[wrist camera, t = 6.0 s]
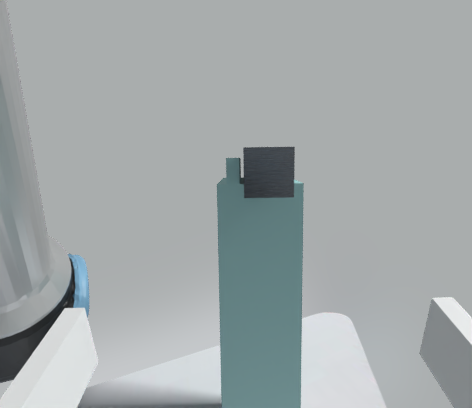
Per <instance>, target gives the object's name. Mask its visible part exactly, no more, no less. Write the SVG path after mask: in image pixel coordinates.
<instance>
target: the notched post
mask: <svg viewBox="0 0 472 408" xmlns="http://www.w3.org/2000/svg"><path fill="white" fill-rule="evenodd" d="M226 169H227V170H226V172H227V178H223V179H222V180H221V181H220V182H219V183H218V184H217V207H218V254H219V301H220V348H221V395H222V408H300V406H301V332H302V258H303V255H302V254H303V253H302V251H303V183H301V182H299V181H297V180H294V197H292V198H244V178H241V175H240V174H241V171H240V158H226Z"/></svg>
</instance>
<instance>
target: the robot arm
mask: <svg viewBox="0 0 472 408" xmlns="http://www.w3.org/2000/svg"><path fill="white" fill-rule="evenodd" d="M88 313H89V283H88V274H87V267H86V263H85V260H84V259H83V258H82V257H81V256H79V255H71V254H67V252H66V250H65V249H64V248H63V246H62V245H61V244H60V243H59V242H58V241H56V240H55V239H53V238H52V237H50V236H48V234H47V228H46V223H45V217H44V211H43V206H42V200H41V195H40V189H39V183H38V178H37V172H36V166H35V161H34V155H33V149H32V144H31V138H30V133H29V127H28V121H27V115H26V110H25V104H24V98H23V93H22V87H21V81H20V76H19V70H18V64H17V59H16V53H15V48H14V42H13V36H12V30H11V25H10V20H9V13H8V8H7V2H6V0H0V383H2V382H6V381H10V380H13V382H12V383H11V384H10V386H9V387H8V389H7V390H6V391H5V393H4V394H3V396H2V397H1V398H0V408H77V407H78V404H79V402H80V400H81V398H82V396H83V394H84V392H85V390H86V387H87V385H88V383H89V381H90V379H91V377H92V375H93V372H94V370H95V368H96V366H97V364H98V358H97V354H96V350H95V346H94V342H93V339H92V334H91V330H90V327H89V322H88ZM420 355H421V357H422V358H423V360H424V361H425V363H426V364H427V366H428V367H429V369H430V371H431V372H432V374H433V376H434V377H435V379H436V380H437V382H438V383H439V385H440V387H441V388H442V390H443V391H444V393H445V394H446V396H447V397H448V399H449V401H450V402H451V404H452V405H453V407H454V408H472V318H471V317H470V315H469V314H468V313H467V312H466V311H465V310H464V309H463V308H462V307H461V306H460V305H459V304H458V303H457V302H456V300H455V299H454V298H452V297H449V298H448V297H447V298H432V300H431V304H430V309H429V314H428V318H427V322H426V327H425V332H424V336H423V340H422V345H421V350H420Z"/></svg>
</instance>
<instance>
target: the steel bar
mask: <svg viewBox="0 0 472 408" xmlns="http://www.w3.org/2000/svg"><path fill="white" fill-rule="evenodd" d="M292 197H294V147H255V148H253V147H252V148H244V198H292Z"/></svg>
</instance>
